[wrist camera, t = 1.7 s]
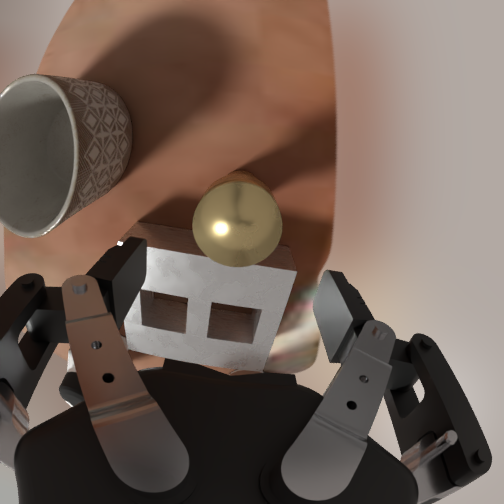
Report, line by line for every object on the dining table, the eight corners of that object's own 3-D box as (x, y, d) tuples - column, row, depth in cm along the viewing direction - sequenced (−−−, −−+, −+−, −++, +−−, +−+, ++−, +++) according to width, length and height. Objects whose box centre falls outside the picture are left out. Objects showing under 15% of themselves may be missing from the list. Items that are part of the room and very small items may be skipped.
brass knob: (216, 156, 24) (198, 176, 15) (274, 166, 24) (292, 193, 15) (207, 210, 26) (188, 259, 17) (262, 220, 27) (271, 273, 18)
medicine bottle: (88, 316, 32) (52, 379, 21) (132, 339, 34) (105, 408, 23) (83, 343, 35) (54, 401, 24) (122, 364, 37) (100, 425, 26)
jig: (137, 221, 26) (117, 241, 22) (289, 246, 28) (297, 271, 23) (139, 322, 32) (128, 349, 28) (260, 342, 34) (262, 371, 30)
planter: (161, 114, 22) (110, 111, 12) (105, 219, 26) (52, 266, 17) (73, 67, 18) (8, 57, 9) (31, 166, 22) (-30, 193, 13)
